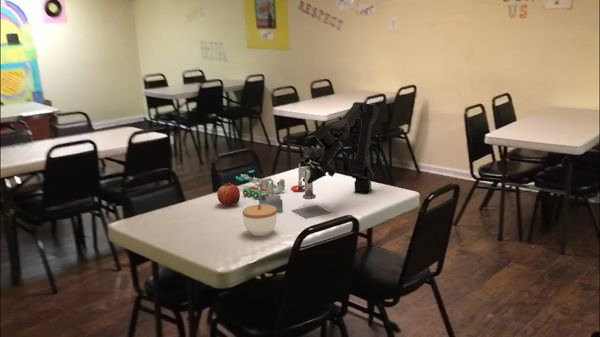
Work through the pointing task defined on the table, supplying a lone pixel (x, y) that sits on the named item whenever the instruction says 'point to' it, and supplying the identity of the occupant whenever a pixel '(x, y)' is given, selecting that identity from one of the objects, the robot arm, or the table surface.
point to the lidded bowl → (260, 219)
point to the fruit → (228, 194)
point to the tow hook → (300, 186)
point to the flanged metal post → (306, 174)
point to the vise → (270, 195)
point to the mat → (311, 211)
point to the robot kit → (258, 185)
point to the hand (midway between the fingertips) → (305, 182)
